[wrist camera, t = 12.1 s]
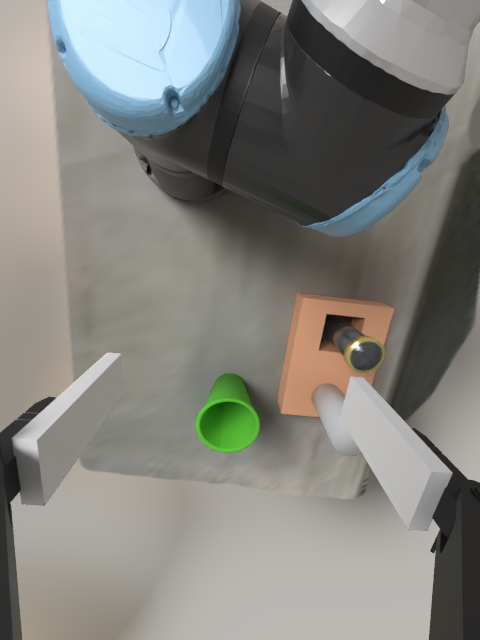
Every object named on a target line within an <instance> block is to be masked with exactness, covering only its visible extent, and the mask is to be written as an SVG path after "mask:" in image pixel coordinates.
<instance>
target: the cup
mask: <svg viewBox="0 0 480 640" xmlns="http://www.w3.org/2000/svg"><path fill="white" fill-rule="evenodd" d="M196 431H197V434H198V436H199V438H200V440H201V441H202V442H203V443H204V444H205V445H206V446H207V447H209V448H211V449H212V450H215V451H218V452H223V453H233V452H237V451H241V450H243V449H245V448H247V447H248V446H250V445H251V444H252V443H253V442H254V440H255V439H256V438H257V436H258V433H259V431H260V419H259V416H258V414H257V412H256V411H255V410H254V408H253V407H252V404H251V401H250V399H249V396H248V393H247V391H246V388H245V386H244V383H243V381H242V379H241V378H240V377H238V376H237V375H235V374H224V375H222V376H220V377H219V378H218V379H217V380H216V382H215V384H214V386H213V388H212V391H211V393H210V395H209V397H208V399H207V402H206V404H205V406H204V407H203V408H202V410H201V411H200V412H199V414H198V416H197V419H196Z"/></svg>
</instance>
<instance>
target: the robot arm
mask: <svg viewBox="0 0 480 640" xmlns="http://www.w3.org/2000/svg"><path fill="white" fill-rule="evenodd" d="M48 9H49V18H50V25H51V30H52V34H53V38H54V42H55V45H56V48H57V50H58V52H59V56H60V58H61V60H62V62H63V64H64V66H65V69H66V71H67V73H68V75H69V77H70V78H71V80H72V82H73V83H74V85H75V86H76V88H77V89H78V90H79V92H80V93H81V94H82V95H83V96H84V98H85V99H86V100H87V102H88V104H89V105H90V106H91V107H92V109H93V110H94V111H95V113H97V114H98V116H99V117H100V118H101V119H102V120H103V121H104V122H106V123H108V124H109V126H110V127H112V128H113V129H115V130H117V131H118V132H119V133H120V134H121V135H122V136H124V137H125V138H126V139H127V140H128V141H129V142H130V143H131V144H132V145H133V146H134V150H135V153H136V156H137V158H138V160H139V162H140V164H141V166H142V168H143V169H144V171H145V172H146V174H147V175H148V176H149V178H150V179H151V180H152V181H153V182H154V183H155V184H156V185H157V186H159V187H160V188H161V189H162V190H164V191H165V192H167V193H168V194H170V195H172V196H174V197H176V198H179V199H182V200H186V201H205V200H209V199H212V198H214V197H217V196H219V195H220V194H222V193H223V192H225V191H226V190H227V189H228V190H231V191H233V192H235V193H237V194H239V195H241V196H243V197H245V198H248V199H250V200H252V201H254V202H256V203H258V204H260V205H262V206H265V207H267V208H269V209H271V210H273V211H275V212H277V213H279V214H282V215H284V216H286V217H288V218H290V219H292V220H294V222H295V223H296V224H298V225H299V226H301V227H306V228H312V229H314V230H317V231H319V232H322V233H324V234H326V235H329V236H335V237H345V236H349V235H353V234H356V233H358V232H360V231H363V230H364V229H366V228H368V227H370V226H371V225H373V224H374V223H376V222H377V221H379V220H380V219H381V218H383V217H384V216H385V215H387V214H388V213H389V212H390V211H391V210H392V209H394V208H395V207H396V206H397V205H398V204H399V203H400V202H401V201H402V200H403V199H404V198H405V197H406V196H407V195H408V194H409V193H410V192H411V190H412V189H413V188H414V187H415V186H416V184H417V183H418V182H419V181H420V180H421V178H422V177H421V174H420V173H421V172H422V171H423V170H424V169H425V168H426V167H427V166H429V165H430V164H432V163H433V161H434V160H435V158H436V157H437V155H438V153H439V151H440V149H441V147H442V145H443V143H444V140H445V137H446V134H447V131H448V127H449V119H448V115H447V113H446V108H445V105H446V103H447V102H448V101H449V100H450V99H451V98H452V96H453V95H454V94H455V93H456V92H457V91H458V89H459V88H460V87H461V86H462V84H463V83H464V77H465V69H466V61H467V53H468V45H469V41H470V39H471V36H472V33H473V31H474V28H475V27H476V25H477V24H478V23H479V22H480V0H293V1H292V4H291V7H290V10H289V13H288V16H285V15H283V14H282V13H281V12H278V11H277V10H275V9H273V8H272V7H270V6H268V5H267V4H265V3H263V2H261V1H260V0H48ZM121 397H122V378H121V354H118V353H106V354H105V355H104V356H103V357H102V358H100V359H99V360H98V361H97V362H96V363H95V364H94V365H93V366H92V367H90V368H89V369H88V370H87V371H86V372H85V373H84V374H83V375H82V376H80V377H79V378H78V379H77V380H76V381H75V382H74V383H73V384H71V386H69V387H68V388H67V389H66V390H65V391H64V392H63V393H62V394H60V395H59V396H58V397H57V398H55V397H48V398H46V399H43V400H41V401H39V402H37V403H35V404H34V405H33V406H32V407H31V408H29V409H28V410H27V411H26V413H23V414H22V415H21V416H20V417H18V419H17V420H15V421H14V422H13V423H11V424H10V425H9V426H8V427H6V428H5V429H4V430H3V431H2V432H1V433H0V640H22V632H21V620H20V608H19V596H18V584H17V571H16V559H15V547H14V535H13V523H12V510H11V504H10V502H11V501H12V500H13V499H14V497H15V496H16V495H17V494H18V493H19V492H20V496H21V503H22V504H27V505H42V506H45V504H46V503H47V501H48V500H49V499H50V497H51V496H52V494H53V493H54V492H55V490H56V489H57V488H58V486H59V485H60V483H61V482H62V481H63V479H64V478H65V476H66V475H67V473H68V472H69V471H70V469H71V468H72V466H73V465H74V464H75V462H76V461H77V459H78V458H79V457H80V455H81V454H82V452H83V451H84V450H85V448H86V447H87V445H88V444H89V442H90V441H91V440H92V438H93V437H94V435H95V434H96V433H97V431H98V430H99V428H100V427H101V426H102V424H103V423H104V421H105V420H106V418H107V417H108V416H109V414H110V413H111V411H112V410H113V409H114V407H115V406H116V404H117V403H118V402H119V400H120V399H121ZM340 417H341V419H342V421H343V422H344V424H345V426H346V427H347V429H348V431H349V432H350V434H351V436H352V437H353V439H354V441H355V442H356V444H357V446H358V447H359V449H360V451H361V452H362V454H363V456H364V457H365V459H366V461H367V462H368V464H369V466H370V467H371V469H372V471H373V472H374V474H375V476H376V477H377V479H378V481H379V482H380V484H381V486H382V487H383V489H384V491H385V492H386V494H387V496H388V497H389V499H390V501H391V502H392V504H393V506H394V507H395V509H396V511H397V512H398V514H399V516H400V517H401V519H402V521H403V522H404V524H405V526H406V528H407V529H408V530H421V531H427V530H428V528H429V526H430V523H431V521H432V519H434V521H435V522H436V524H437V525H438V526H439V528H440V531H439V533H438V535H437V537H436V539H435V542H434V544H433V546H432V548H431V552H432V553H434V552H435V550H436V555H435V568H434V581H433V594H432V607H431V621H430V633H429V640H480V483H479V482H476V481H473V480H468V479H467V478H466V477H465V476H464V475H463V474H462V473H461V472H460V471H459V470H458V469H457V468H456V467H455V466H454V465H453V464H452V463H451V462H450V461H449V460H448V458H447V457H446V456H444V455H443V454H442V452H441V451H440V450H439V449H438V448H437V447H435V445H434V444H433V443H432V442H431V441H430V440H429V439H428V438H427V437H426V436H425V435H423V434H422V433H420V432H419V431H417V430H416V429H415V428H410V427H409V426H408V425H407V424H406V423H405V421H404V420H403V419H402V418H401V417H400V416H399V415H398V414H397V413H396V412H395V411H394V410H393V409H392V408H391V407H390V405H389V404H388V403H387V402H386V401H385V400H384V399H383V398H382V397H381V396H380V395H379V394H378V393H377V392H376V390H375V389H374V388H373V387H372V386H371V385H370V384H369V383H368V382H367V381H366V380H365V379H364V378H362V377H352V376H351V377H350V381H349V385H348V389H347V392H346V396H345V400H344V404H343V407H342V411H341V415H340Z"/></svg>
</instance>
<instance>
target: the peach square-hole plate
mask: <svg viewBox="0 0 480 640" xmlns="http://www.w3.org/2000/svg"><path fill="white" fill-rule="evenodd" d="M393 312H394V308H393V307H390V306H388V305H386V304H383V303H381V302H374V301H366V300H357V299H348V298H340V297H331V296H322V295H314V294H305V293H297V294H296V300H295V305H294V311H293V316H292V322H291V327H290V333H289V338H288V343H287V349H286V354H285V360H284V365H283V371H282V376H281V382H280V387H279V393H278V398H277V401H278V405H279V409H280V412H281V414H290V415H301V416H313V417H320V420H321V422H322V424H323V426H324V428H325V430H326V432H327V434H328V436H329V438H330V440H331V442H332V445H333V447H334V449H335V450H336V451H337V452H338V453H339V454H341V455H344V456H354V455H358V454H360V453H362V452H361V451H360V449H359V447H358V446H357V444H356V442H355V441H354V439H353V437H352V436H351V434H350V432H349V431H348V429H347V427H346V426H345V424H344V422H343V421H342V419H341V417H340V415H341V411H342V407H343V404H344V400H345V396H346V392H347V389H348V385H349V381H350V377H351V376H352V377H362V378H364V379H365V380H366V381H367V382H368V383H369V384H370V385H371V386H372V383H373V380H374V376H375V373H376V370H374V371H372V372H370V373H365V374H361V373H357V372H355V371H353V370H352V369H351V368H350V367H349V366H348V365H347V364H346V362H345V360H344V356H343V355H342V354H341V353H340V352H339V351H338V350H337V349H336V348H335V347H334V346H333V344H332V343H324V342H321V337H322V333H323V328H324V324H325V319H326V315H327V314H333V315H342V316H351V317H352V321H351V325H352V326H353V327H354V328H356V329H357V330H358V331H360V332H361V333H363V334H364V335H365V336H371V337H373V338H375V339H376V340H378V341H379V342H380V343H381V344H382V345H383V346H384V342H385V339H386V336H387V332H388V329H389V325H390V322H391V319H392V315H393Z"/></svg>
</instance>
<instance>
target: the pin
mask: <svg viewBox="0 0 480 640" xmlns="http://www.w3.org/2000/svg"><path fill="white" fill-rule="evenodd" d="M322 334H323V335H324V336H325V337H326V338H327V339H328V340H329V341H330V342H331V343H332V344H333V346H334V347H335V348H336V349H337V350H338V351H339V352H340V353H341V354H342V355H343V356H344V360H345V362H346V364H347V365H348V366H349V367H350V368H351V369H352V370H353V371H355V372H357V373H361V374H365V373H370V372H372V371H374V370H376V369H377V368H378V367H380V365H381V364H382V363H383V361H384V358H385V349H384V346H383V345H382V344H381V343H380V342H379V341H378V340H376V339H375V338H373V337H371V336H365V335H364V334H363V333H361V332H360V331H358V330H357V329H356V328H354V327H353V326H352V325H350V324H349V323H348V322H346V321H345V320H343V319H342V318H341V317H339V316H337V315H330V316H327V317H326V319H325V324H324V328H323V333H322Z"/></svg>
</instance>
